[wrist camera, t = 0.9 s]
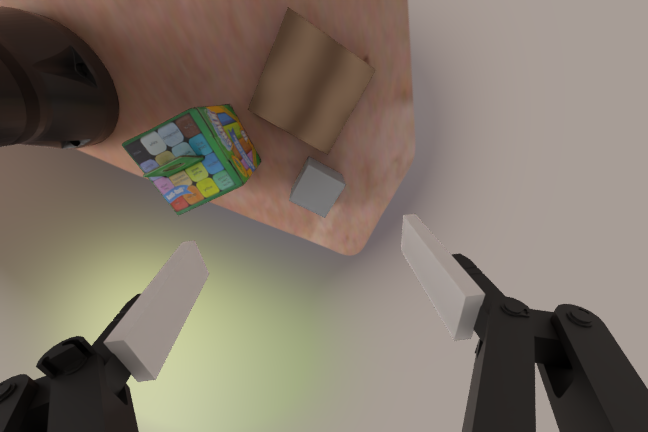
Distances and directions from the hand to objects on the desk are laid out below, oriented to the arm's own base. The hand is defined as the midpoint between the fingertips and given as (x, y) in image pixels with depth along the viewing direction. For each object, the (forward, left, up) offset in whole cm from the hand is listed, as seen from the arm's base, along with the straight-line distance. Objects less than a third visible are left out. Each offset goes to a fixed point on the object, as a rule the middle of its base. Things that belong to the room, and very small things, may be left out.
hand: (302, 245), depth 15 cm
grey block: (+3, -3, -24) cm, 24 cm away
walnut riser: (-4, +8, -24) cm, 26 cm away
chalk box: (-12, -5, -24) cm, 28 cm away
